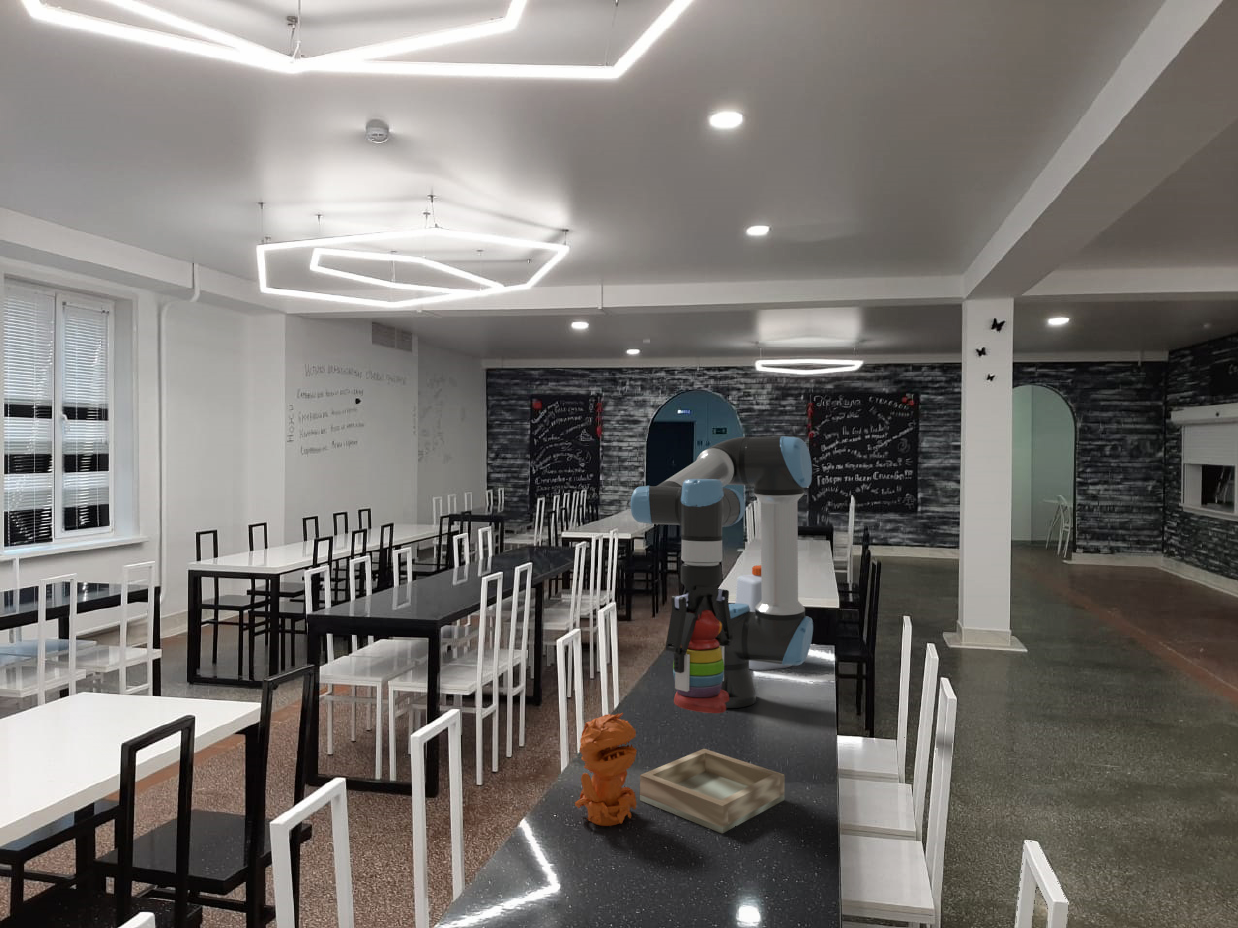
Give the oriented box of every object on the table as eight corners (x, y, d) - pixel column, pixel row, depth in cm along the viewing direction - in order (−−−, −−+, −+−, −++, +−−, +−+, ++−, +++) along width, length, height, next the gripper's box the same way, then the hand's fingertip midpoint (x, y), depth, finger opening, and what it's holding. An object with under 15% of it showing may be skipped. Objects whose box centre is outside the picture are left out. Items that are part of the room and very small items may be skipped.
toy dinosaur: (617, 839, 132) (618, 726, 131) (561, 823, 138) (562, 714, 137) (652, 813, 141) (653, 708, 141) (599, 799, 147) (599, 697, 147)
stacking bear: (725, 714, 147) (726, 614, 147) (668, 710, 149) (669, 611, 149) (730, 697, 158) (731, 603, 158) (677, 693, 160) (678, 601, 160)
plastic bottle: (753, 672, 230) (754, 571, 229) (725, 659, 244) (726, 564, 243) (799, 667, 236) (800, 568, 235) (769, 655, 250) (770, 561, 249)
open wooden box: (703, 771, 159) (703, 748, 159) (784, 799, 147) (784, 774, 147) (640, 800, 147) (640, 774, 146) (722, 833, 134) (722, 805, 134)
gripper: (722, 556, 164) (721, 670, 164) (645, 565, 148) (644, 691, 148) (753, 560, 158) (752, 677, 158) (677, 570, 143) (675, 700, 143)
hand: (699, 684), depth 153 cm, fingers closed on stacking bear, 9 cm apart
